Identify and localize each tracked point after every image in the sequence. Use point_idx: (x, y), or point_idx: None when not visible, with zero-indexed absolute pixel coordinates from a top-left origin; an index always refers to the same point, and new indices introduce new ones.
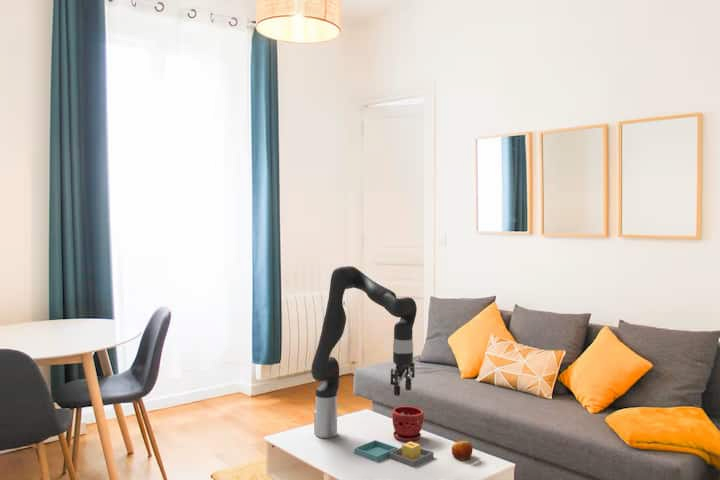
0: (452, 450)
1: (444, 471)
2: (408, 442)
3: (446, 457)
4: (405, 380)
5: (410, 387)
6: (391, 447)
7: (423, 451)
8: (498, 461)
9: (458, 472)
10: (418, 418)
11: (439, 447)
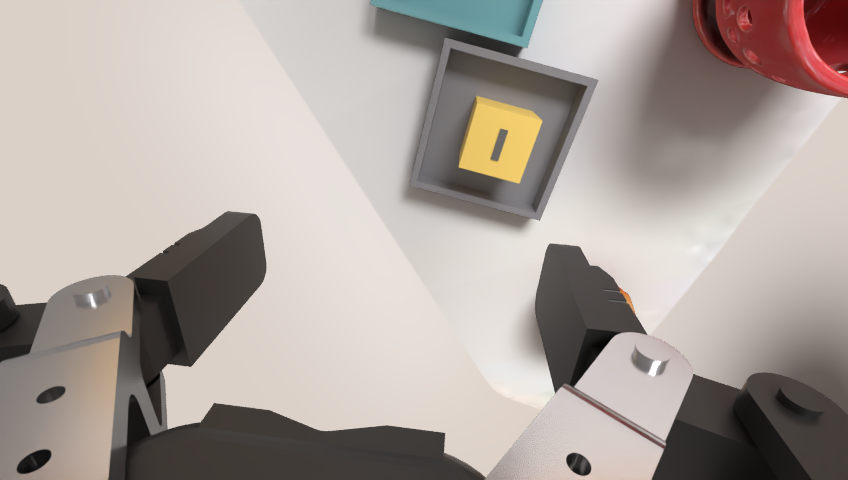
0: None
1: (439, 279)
2: (524, 118)
3: None
4: (587, 324)
5: (543, 333)
6: (532, 4)
7: (551, 170)
8: None
9: (453, 317)
10: (806, 87)
11: (670, 190)
